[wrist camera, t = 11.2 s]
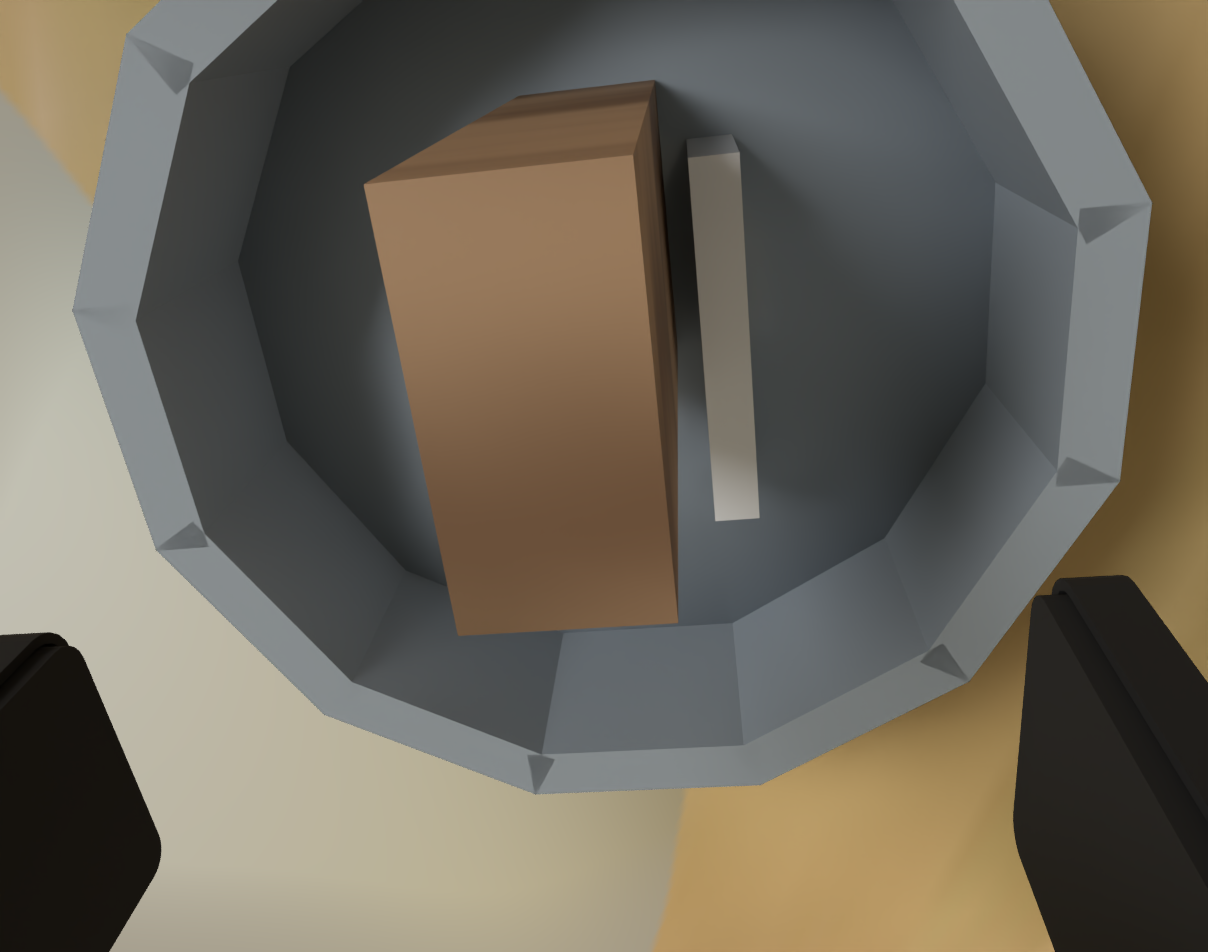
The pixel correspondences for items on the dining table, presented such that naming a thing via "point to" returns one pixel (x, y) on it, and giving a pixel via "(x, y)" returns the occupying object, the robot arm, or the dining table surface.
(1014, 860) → the dining table surface
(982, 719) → the dining table surface
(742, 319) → the grey bowl
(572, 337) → the brown rectangular block
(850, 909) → the dining table surface
